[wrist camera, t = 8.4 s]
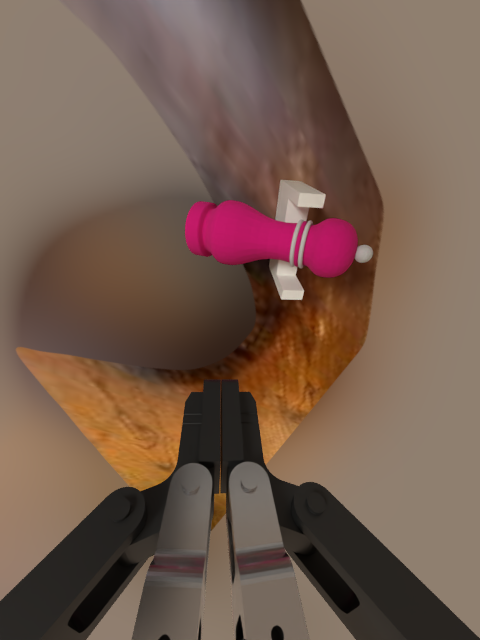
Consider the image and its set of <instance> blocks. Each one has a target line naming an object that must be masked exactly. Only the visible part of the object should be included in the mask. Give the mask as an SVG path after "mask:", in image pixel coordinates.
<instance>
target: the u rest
mask: <svg viewBox="0 0 480 640" xmlns="http://www.w3.org/2000/svg"><path fill="white" fill-rule="evenodd" d="M325 196H326V194H324V193H322V192H320V191H318V190H316V189H314V188H312V187H311V186H309V185H307V184H305V183H303V182H301V181H291V180H281V181H280V189H279V196H278V203H277V211H276V218H275V220H277V221H282V222H286V223H298V222H299V220H301V219H302V220H304V221H307V216H308V211H309V207H313V208H323V205H324V200H325ZM269 268H270V271H271V273H272V276H273V279H274V281H275V284H276V287H277V289H278V292H279V294H280V297H281V299H291V300H302V298H303V294H304V290H303V288H302V286H301V284H300V282H299V280H298V279H297V277H296V272H297V267H296V266H294V267H292V266H291V265H290V263H289V262H286V261H282V260H276V259H270V263H269Z"/></svg>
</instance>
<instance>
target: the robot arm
mask: <svg viewBox="0 0 480 640" xmlns="http://www.w3.org/2000/svg"><path fill="white" fill-rule="evenodd" d="M220 461H221V493H226V525H227V538H228V551H229V564H230V576H231V598H232V617H233V630H234V640H310V639H309V634H308V630H307V626H306V621H305V617H304V612H303V608H302V603H301V599H300V595H299V590H298V586H297V581H296V577H295V573H294V570H293V566H292V563H291V560H290V558H289V556H288V554H289V555H290V556H291V558H292V559H293V560H294V561H295V563H296V564H297V565H298V567H299V568H300V569H301V570H302V572H303V573H304V574H305V575H306V576H307V578H308V579H309V581H310V582H311V583H312V584H313V586H314V587H315V588H316V589H317V591H318V592H319V593H320V594H321V596H322V597H323V598H324V600H325V601H326V602H327V603H328V605H329V606H330V607H331V608H332V610H333V611H334V612H335V613H336V615H337V616H338V617H339V619H340V620H341V621H342V622H343V624H344V625H345V626H346V628H347V629H348V630H349V631H350V633H351V634H352V635H353V636H354V638H355V639H356V640H480V638H479V637H477V636H476V635H475V634H474V633H473V632H472V631H471V630H470V629H469V628H468V627H467V626H466V625H465V624H464V623H463V622H462V621H461V620H460V619H459V618H458V617H457V616H456V615H455V614H454V613H453V612H452V611H451V610H450V609H449V608H448V607H447V606H446V605H445V604H444V603H443V602H442V601H441V600H439V599H438V597H437V596H435V595H434V594H433V593H432V592H431V591H430V590H429V589H428V588H427V587H426V586H425V585H424V584H423V583H422V582H421V581H420V580H419V579H418V578H417V577H416V576H415V575H414V574H413V573H412V572H411V571H410V570H409V569H408V568H407V567H406V566H405V565H404V564H403V563H402V562H401V561H400V560H399V559H398V558H397V557H396V556H395V555H393V554H392V553H391V552H390V551H389V550H388V549H387V548H386V547H385V546H384V545H383V544H382V543H381V542H380V541H379V540H378V539H377V538H376V537H375V536H374V535H373V534H372V533H371V532H370V531H369V530H368V529H367V528H366V527H365V526H364V525H363V524H362V523H361V522H360V521H358V519H356V518H355V516H353V515H352V514H351V513H350V512H349V511H348V510H347V509H346V508H345V507H344V506H343V505H342V504H341V503H340V502H339V501H338V500H337V499H336V498H335V497H334V496H333V495H332V494H331V493H330V492H329V491H328V490H327V489H326V488H324V487H323V486H321V485H320V484H317V483H314V482H306V483H303V484H301V485H300V486H296V485H293V484H290V483H287V482H285V481H282V480H279V479H278V478H276V477H275V476H273V475H272V474H271V473H270V472H269V470H268V469H267V467H266V465H265V463H264V459H263V452H262V445H261V437H260V430H259V424H258V415H257V408H256V401H255V400H254V398H253V396H252V395H251V393H250V392H239V385H238V380H222V385H221V446H220V380H204V389H203V392H191V394H190V396H189V397H188V399H187V400H186V402H185V409H184V417H183V425H182V432H181V440H180V447H179V455H178V461H177V465H176V468H175V470H174V471H173V473H172V474H171V475H170V477H169V478H168V479H166V480H165V481H164V482H162V483H160V484H158V485H156V486H153V487H151V488H148V489H146V490H143V491H139V490H138V489H136V488H133V487H123V488H120V489H118V490H116V491H114V492H112V493H111V494H110V495H109V496H107V497H106V498H105V499H104V500H103V501H102V502H101V503H100V504H99V505H98V506H97V507H96V508H95V509H94V510H93V511H92V512H91V513H90V514H89V515H88V516H87V517H86V518H85V519H84V520H83V521H82V522H81V523H80V524H79V525H78V526H77V527H76V528H75V529H74V530H73V531H72V532H71V533H70V534H69V535H67V536H66V537H65V538H64V539H63V540H62V542H60V544H58V545H57V546H56V547H55V548H54V549H53V550H52V551H51V552H50V553H49V554H48V555H47V556H46V557H45V558H44V559H43V560H42V561H41V562H40V563H39V564H38V565H37V566H36V567H35V568H34V569H33V570H32V571H31V572H30V573H29V574H28V575H27V576H26V577H25V578H24V579H22V580H21V581H20V582H19V584H17V585H16V586H15V587H14V588H13V589H12V590H11V591H10V592H9V593H8V594H7V595H6V596H5V597H4V598H3V599H2V600H1V601H0V640H86V639H87V638H88V636H89V635H90V634H91V632H92V631H93V630H94V629H95V627H96V626H97V625H98V623H99V622H100V621H101V619H102V618H103V617H104V615H105V614H106V613H107V611H108V610H109V609H110V608H111V606H112V605H113V604H114V602H115V601H116V600H117V598H118V597H119V596H120V594H121V593H122V592H123V591H124V589H125V588H126V587H127V585H128V584H129V582H130V581H131V580H132V579H133V577H134V576H135V575H136V574H137V572H138V571H139V569H140V568H141V567H142V566H143V564H144V563H145V562H146V560H147V559H148V558H149V557H151V556H153V555H155V556H154V559H153V561H152V562H151V564H150V566H149V569H148V572H147V575H146V579H145V583H144V587H143V592H142V596H141V601H140V605H139V609H138V614H137V618H136V623H135V627H134V632H133V637H132V640H202V629H203V617H204V605H205V590H206V577H207V565H208V553H209V543H210V531H211V521H212V518H213V512H214V494H217V493H219V481H220ZM284 548H285V549H284ZM285 550H286V551H287V553H288V554H287V553H286V552H285Z"/></svg>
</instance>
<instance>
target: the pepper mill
mask: <svg viewBox="0 0 480 640" xmlns="http://www.w3.org/2000/svg"><path fill="white" fill-rule="evenodd" d="M185 236H186V242H187V245H188V248H189V249H190V251H191V252H192V253H194V254H196V255H201V256H206V257H208V256H211V255H213V256H214V258H215V259H216V260H217V261H218V262H220V263H222V264H228V265H237V264H244V263H248V262H252V261H255V260H261V259H276V260H282V261H286V262H289V263H290V265H291V266H292V267H294V266H296V267H299V268H303V267H304V265H305V266H307V267H308V268H309V269H310V270H311V271H312V272H313V273H314V274H315V275H317V276H320V277H326V278H331V277H336V276H339V275H341V274H343V273H344V272H345V271H346V270H347V269H348V268H349V267H350V266H351V264H352V262H353V260H354V258H355V260H356V261H358V262H360V263H365V262H367V261H369V260H370V259H371V258H372V255H373V250H372V248H371V247H370V246H368V245H361V246H359V247H357V246H358V238H357V233H356V230H355V229H354V227H353V226H352V225H351V224H350V223H348V222H347V221H344V220H341V219H337V218H330V219H326V220H324V221H322V222H321V223H319V224H317V225H313V222H312V221H308V222H307V221H304V220H302V219H301V220H299V222H298V223H286V222H282V221H277V220H274V219H271V218H269V217H267V216H265V215H263V214H261V213H260V212H258V211H257V210H255V209H254V208H252V207H251V206H249V205H247V204H244V203H242V202H238V201H233V200H227V201H225V202H223V203H221V204H220V205H219V206H216V204H214V203H210V202H201V201H200V202H197V203H195V204H194V205H193V206H192V207H191V209H190V211H189V213H188V216H187V219H186V225H185Z"/></svg>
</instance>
